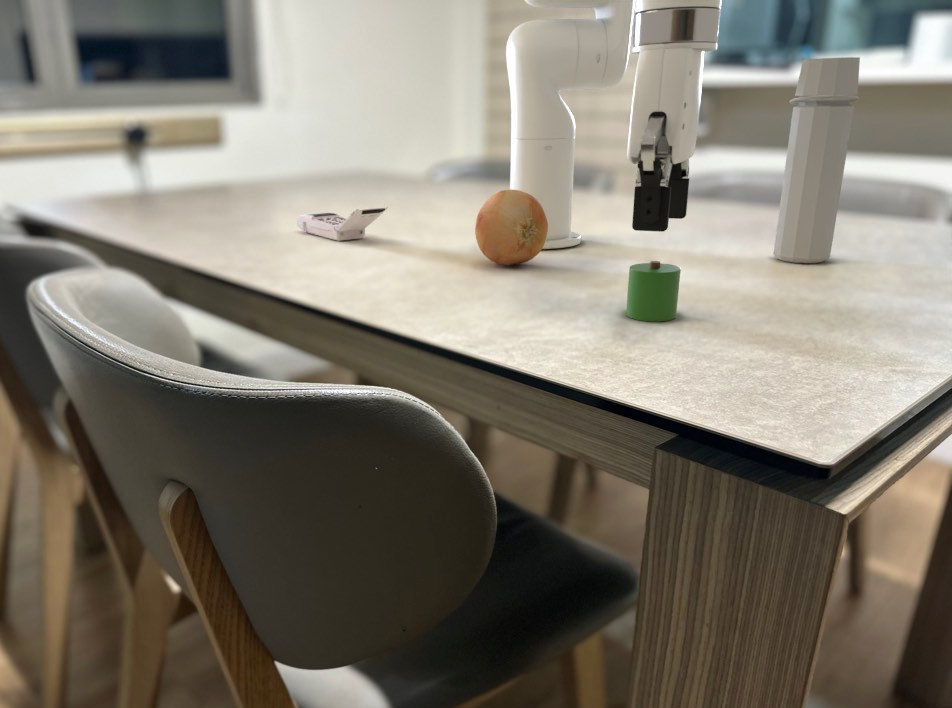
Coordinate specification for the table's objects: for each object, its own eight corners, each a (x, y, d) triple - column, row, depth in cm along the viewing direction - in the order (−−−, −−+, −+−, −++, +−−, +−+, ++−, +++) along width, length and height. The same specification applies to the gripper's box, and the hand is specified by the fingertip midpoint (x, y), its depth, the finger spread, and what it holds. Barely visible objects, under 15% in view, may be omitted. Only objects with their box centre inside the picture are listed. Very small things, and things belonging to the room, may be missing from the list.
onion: (505, 275, 104) (506, 196, 100) (460, 264, 112) (460, 189, 108) (562, 266, 109) (565, 189, 105) (515, 255, 117) (516, 184, 113)
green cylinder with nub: (620, 318, 83) (624, 264, 81) (632, 307, 87) (636, 255, 85) (671, 323, 81) (676, 268, 79) (680, 312, 85) (685, 258, 83)
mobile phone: (357, 209, 123) (287, 195, 143) (358, 248, 125) (289, 229, 145) (391, 206, 126) (317, 193, 146) (391, 244, 128) (319, 226, 148)
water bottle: (840, 265, 105) (874, 56, 96) (775, 264, 106) (803, 58, 98) (821, 252, 113) (851, 59, 104) (761, 251, 115) (786, 61, 106)
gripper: (652, 43, 83) (641, 212, 89) (610, 31, 69) (599, 234, 74) (730, 38, 80) (712, 214, 86) (702, 24, 65) (683, 238, 71)
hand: (660, 223), depth 80 cm, fingers open, 9 cm apart
